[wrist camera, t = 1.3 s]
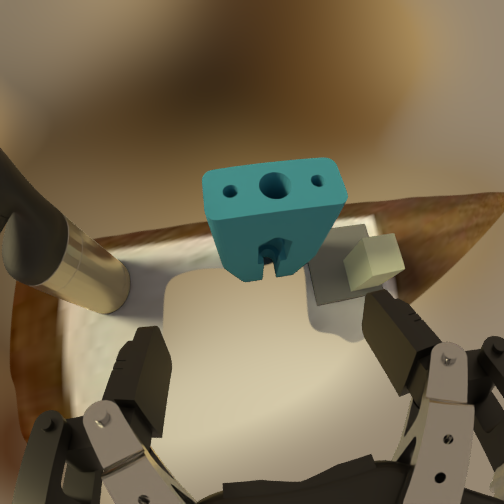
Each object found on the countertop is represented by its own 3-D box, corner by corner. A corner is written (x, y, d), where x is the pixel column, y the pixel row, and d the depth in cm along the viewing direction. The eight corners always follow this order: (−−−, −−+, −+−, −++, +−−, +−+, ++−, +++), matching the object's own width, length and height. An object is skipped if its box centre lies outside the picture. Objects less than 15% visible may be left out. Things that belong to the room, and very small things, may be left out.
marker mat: (317, 305, 39) (317, 305, 39) (301, 232, 43) (301, 232, 43) (383, 291, 40) (383, 290, 39) (363, 224, 44) (364, 223, 43)
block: (301, 241, 43) (333, 157, 24) (308, 272, 41) (350, 203, 22) (223, 252, 42) (201, 171, 23) (228, 284, 40) (205, 222, 22)
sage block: (350, 291, 39) (372, 275, 31) (343, 260, 41) (362, 238, 33) (379, 285, 40) (405, 268, 32) (371, 255, 41) (394, 233, 33)
